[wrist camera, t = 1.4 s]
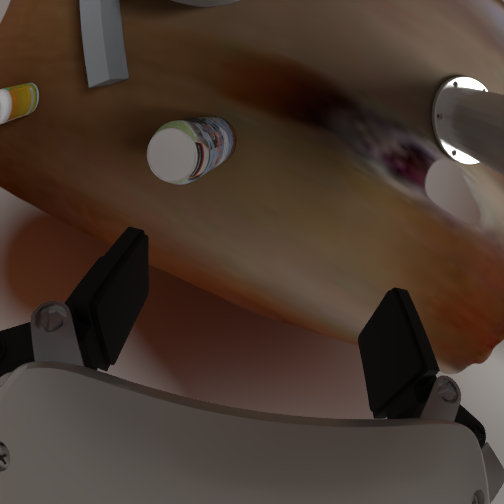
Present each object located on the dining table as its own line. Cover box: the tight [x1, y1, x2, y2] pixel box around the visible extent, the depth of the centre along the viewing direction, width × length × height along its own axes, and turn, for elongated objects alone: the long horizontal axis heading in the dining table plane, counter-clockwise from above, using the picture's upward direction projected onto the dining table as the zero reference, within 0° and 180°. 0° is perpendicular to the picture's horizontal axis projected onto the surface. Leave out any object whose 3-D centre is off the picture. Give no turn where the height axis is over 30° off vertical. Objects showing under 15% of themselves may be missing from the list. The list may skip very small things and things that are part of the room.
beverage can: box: [147, 116, 236, 185], centre depth 28 cm, size 6×7×12 cm
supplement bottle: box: [0, 83, 39, 124], centre depth 25 cm, size 5×5×10 cm
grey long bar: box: [80, 0, 129, 88], centre depth 20 cm, size 3×24×5 cm, turn 7°
